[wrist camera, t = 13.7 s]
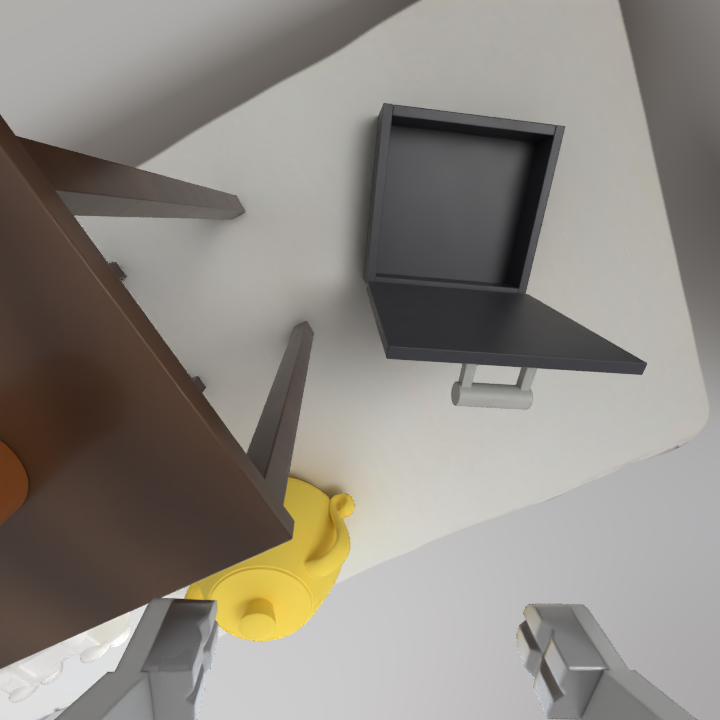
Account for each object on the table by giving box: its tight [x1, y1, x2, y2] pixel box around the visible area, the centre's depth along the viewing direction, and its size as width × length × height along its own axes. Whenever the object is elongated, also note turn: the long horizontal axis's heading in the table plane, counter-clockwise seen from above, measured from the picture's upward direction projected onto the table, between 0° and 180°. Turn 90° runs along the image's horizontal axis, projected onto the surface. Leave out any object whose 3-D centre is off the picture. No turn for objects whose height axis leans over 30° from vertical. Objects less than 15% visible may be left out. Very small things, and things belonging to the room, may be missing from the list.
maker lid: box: [367, 281, 647, 410], centre depth 30 cm, size 15×16×5 cm
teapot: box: [184, 477, 355, 641], centre depth 43 cm, size 25×18×14 cm
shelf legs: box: [16, 136, 314, 505], centre depth 26 cm, size 15×15×27 cm
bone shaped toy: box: [0, 612, 130, 703], centre depth 48 cm, size 15×9×8 cm, turn 122°
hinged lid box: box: [364, 103, 565, 294], centre depth 35 cm, size 15×16×4 cm
